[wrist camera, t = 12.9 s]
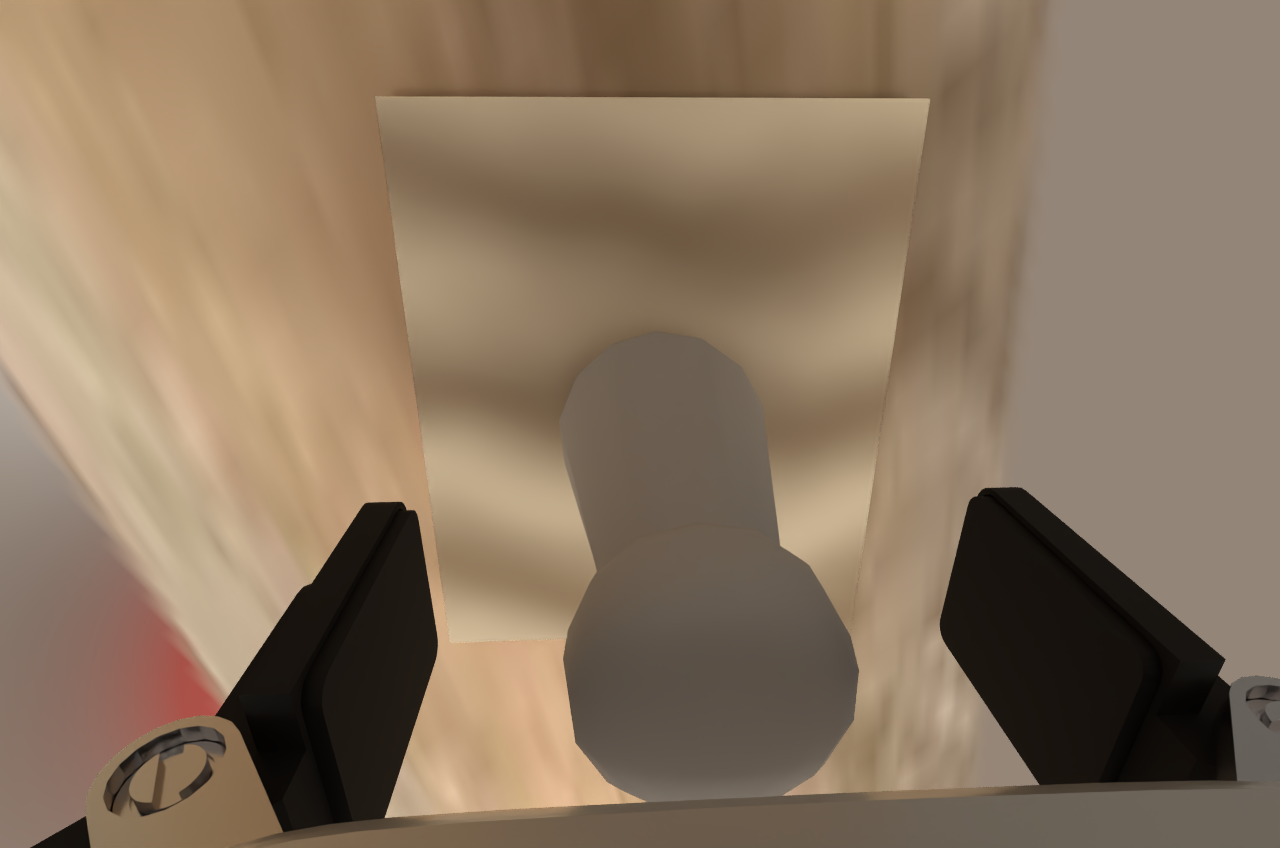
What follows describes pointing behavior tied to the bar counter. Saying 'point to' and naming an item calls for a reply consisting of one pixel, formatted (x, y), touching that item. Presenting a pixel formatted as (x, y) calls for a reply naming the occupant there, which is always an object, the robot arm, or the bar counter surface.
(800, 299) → the serving board
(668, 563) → the salt shaker
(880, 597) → the bar counter surface
